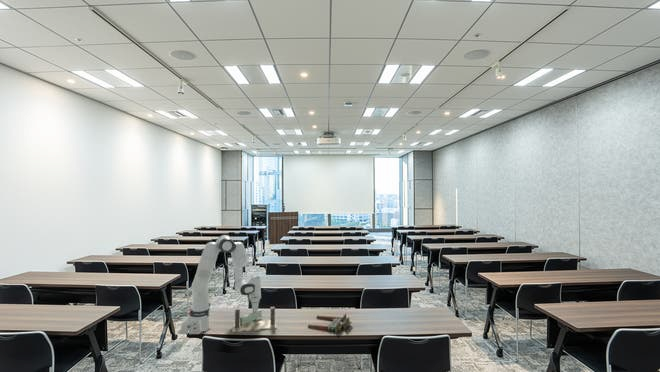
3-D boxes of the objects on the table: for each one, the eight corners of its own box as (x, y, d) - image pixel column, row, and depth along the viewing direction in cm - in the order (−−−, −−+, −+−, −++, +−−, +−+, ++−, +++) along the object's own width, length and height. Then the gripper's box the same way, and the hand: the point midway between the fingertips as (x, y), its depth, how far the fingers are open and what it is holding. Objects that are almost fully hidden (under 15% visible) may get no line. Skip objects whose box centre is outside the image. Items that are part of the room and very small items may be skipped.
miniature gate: (318, 311, 254) (354, 313, 245) (319, 318, 254) (355, 321, 244) (305, 325, 229) (344, 328, 219) (306, 332, 229) (345, 336, 219)
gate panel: (241, 326, 231) (241, 318, 231) (239, 325, 232) (239, 318, 232) (261, 316, 249) (261, 309, 249) (260, 316, 249) (260, 309, 250)
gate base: (232, 332, 224) (232, 314, 224) (234, 324, 237) (234, 307, 237) (276, 328, 231) (276, 310, 231) (275, 320, 244) (275, 304, 244)
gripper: (251, 292, 259) (251, 309, 259) (250, 301, 239) (250, 319, 239) (259, 292, 260) (259, 308, 260) (259, 300, 240) (259, 318, 240)
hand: (255, 313), depth 249 cm, fingers closed
